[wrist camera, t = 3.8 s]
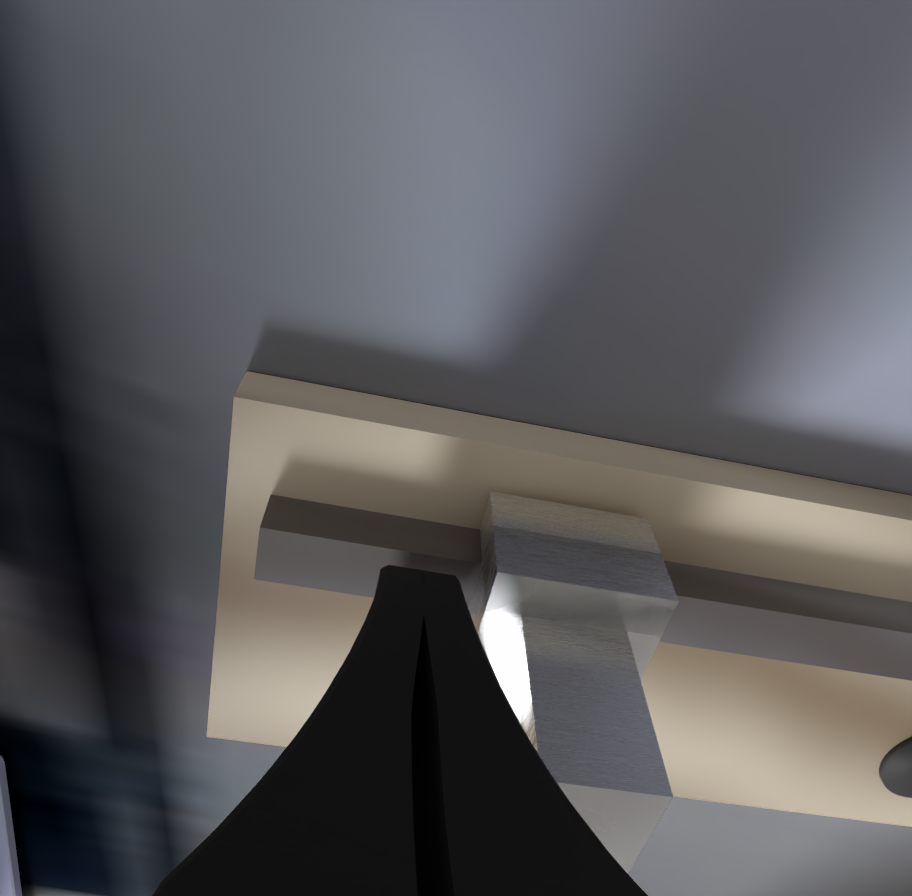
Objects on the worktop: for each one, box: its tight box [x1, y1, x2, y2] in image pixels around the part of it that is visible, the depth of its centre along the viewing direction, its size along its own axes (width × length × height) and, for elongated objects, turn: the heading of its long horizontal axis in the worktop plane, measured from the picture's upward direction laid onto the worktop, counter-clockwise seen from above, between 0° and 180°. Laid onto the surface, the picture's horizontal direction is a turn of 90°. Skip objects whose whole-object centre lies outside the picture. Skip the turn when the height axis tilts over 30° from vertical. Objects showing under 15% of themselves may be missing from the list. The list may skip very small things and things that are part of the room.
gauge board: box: [207, 371, 912, 827], centre depth 17 cm, size 9×20×2 cm, turn 78°
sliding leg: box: [468, 491, 679, 873], centre depth 14 cm, size 7×3×5 cm, turn 168°
